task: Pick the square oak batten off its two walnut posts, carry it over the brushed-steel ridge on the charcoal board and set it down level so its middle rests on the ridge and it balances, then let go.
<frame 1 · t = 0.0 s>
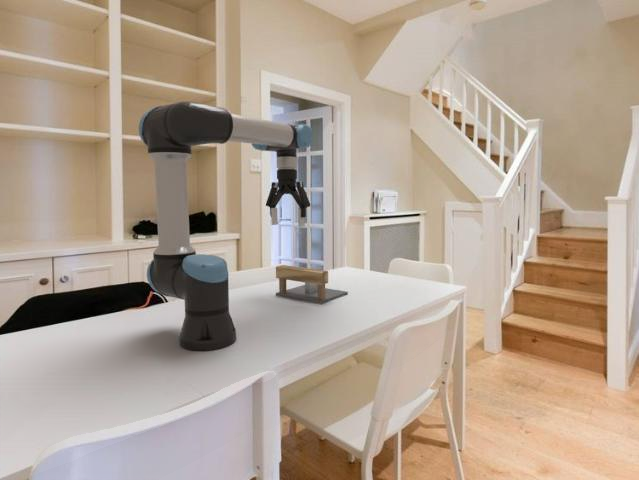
hand: (287, 225, 160), 28 cm above the table, fingers open, 13 cm apart
ridge: (315, 293, 168), resting on board
board: (312, 294, 166), on the table
oak batten: (301, 280, 160), point 7 cm above the table, touching board
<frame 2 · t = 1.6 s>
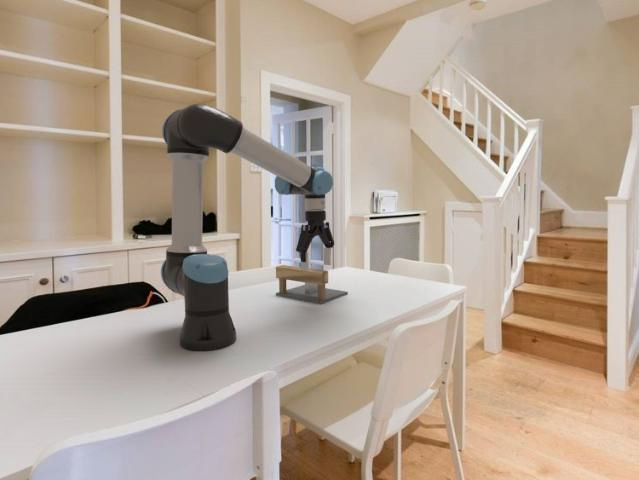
hand: (316, 267, 156), 13 cm above the table, fingers open, 13 cm apart
nothing on the table moved.
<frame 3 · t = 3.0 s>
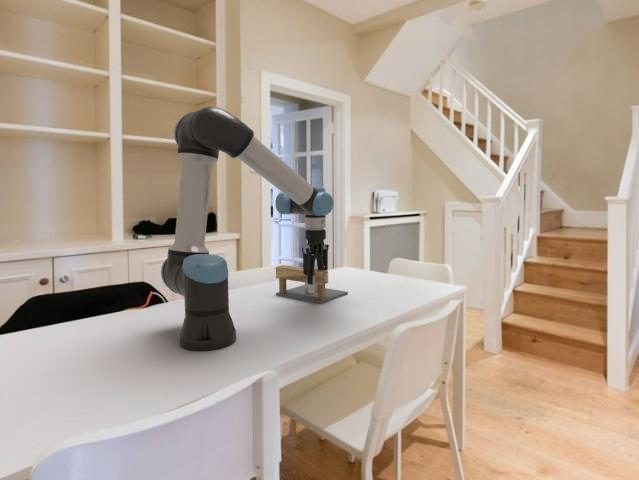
hand: (316, 291, 157), 4 cm above the table, fingers closed on oak batten, 4 cm apart
oak batten: (301, 280, 160), point 7 cm above the table, touching board, gripper
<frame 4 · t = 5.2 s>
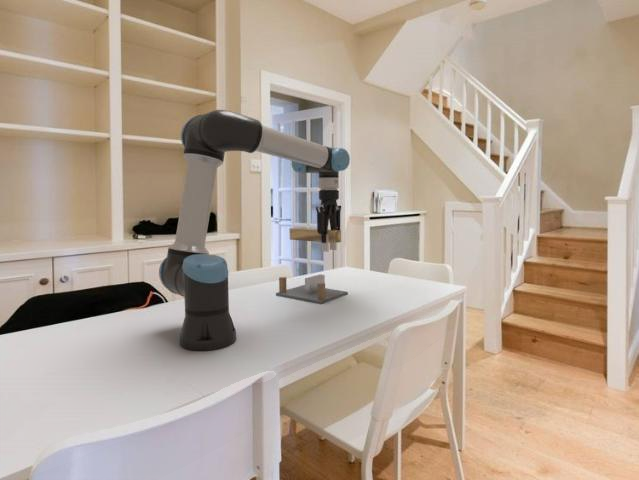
hand: (329, 250, 162), 18 cm above the table, fingers closed on oak batten, 4 cm apart
oak batten: (314, 240, 165), point 21 cm above the table, touching gripper
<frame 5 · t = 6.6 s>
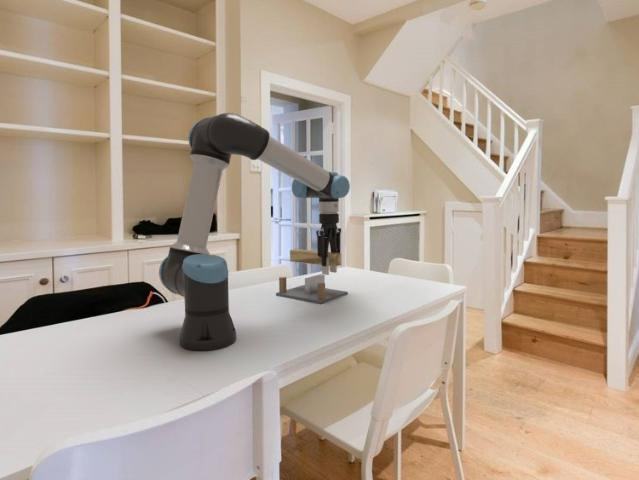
hand: (329, 273, 163), 9 cm above the table, fingers closed on oak batten, 4 cm apart
oak batten: (315, 262, 167), point 12 cm above the table, touching gripper
when the fingers open (5 cm above the table, at t = 7.7 s): oak batten drops 1 cm, resting on ridge.
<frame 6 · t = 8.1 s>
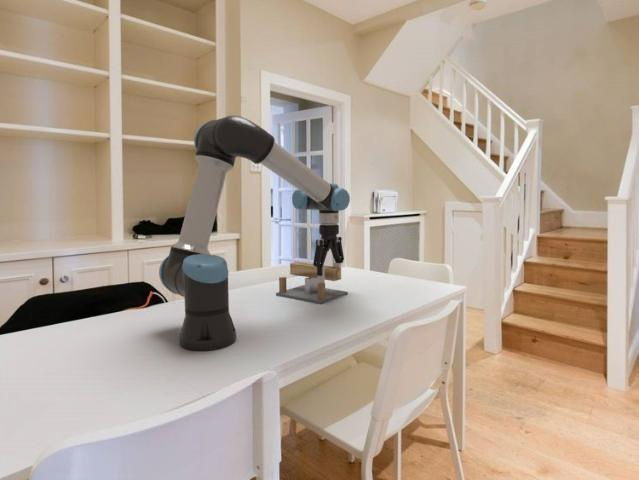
hand: (329, 281, 163), 6 cm above the table, fingers open, 10 cm apart
oak batten: (314, 276, 167), point 7 cm above the table, touching ridge
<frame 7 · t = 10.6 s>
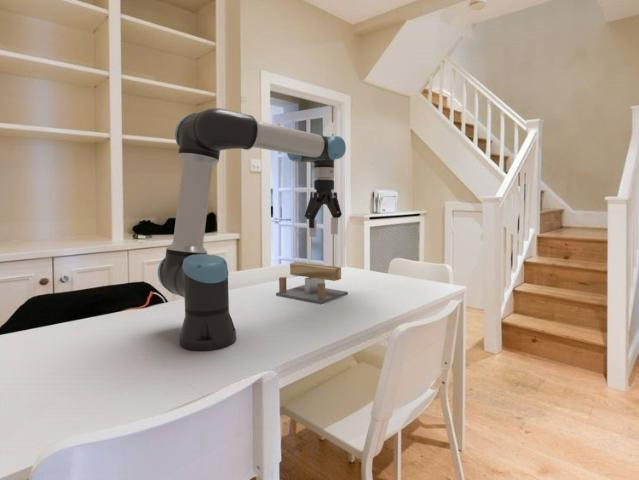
hand: (324, 235, 161), 24 cm above the table, fingers open, 13 cm apart
nothing on the table moved.
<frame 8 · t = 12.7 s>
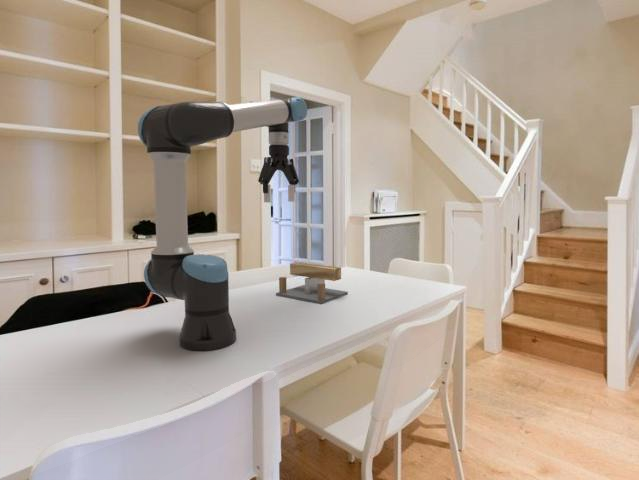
hand: (279, 202, 160), 37 cm above the table, fingers open, 13 cm apart
nothing on the table moved.
at the end: oak batten 0.1 cm off-centre on the ridge, point 7.0 cm above the ridge's base; oak batten tilted 0°; oak batten touching ridge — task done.
